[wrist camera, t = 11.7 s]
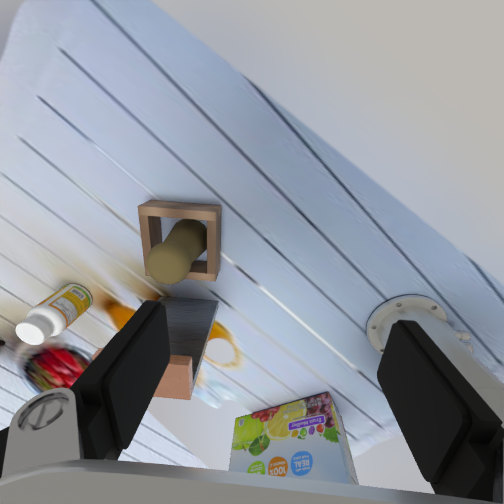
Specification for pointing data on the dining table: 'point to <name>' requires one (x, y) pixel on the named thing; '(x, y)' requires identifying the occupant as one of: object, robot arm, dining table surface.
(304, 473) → the snack box
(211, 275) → the socket block
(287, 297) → the dining table surface
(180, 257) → the cork
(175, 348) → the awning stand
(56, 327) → the supplement bottle
